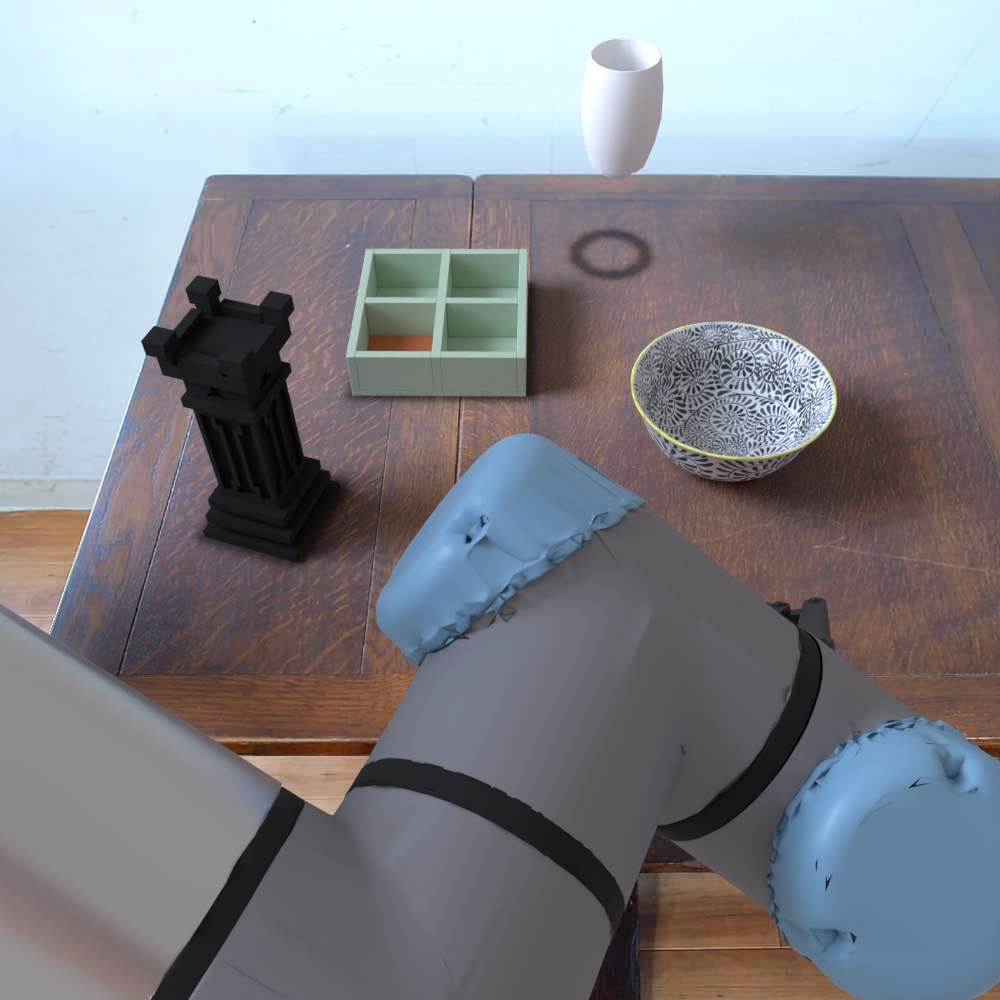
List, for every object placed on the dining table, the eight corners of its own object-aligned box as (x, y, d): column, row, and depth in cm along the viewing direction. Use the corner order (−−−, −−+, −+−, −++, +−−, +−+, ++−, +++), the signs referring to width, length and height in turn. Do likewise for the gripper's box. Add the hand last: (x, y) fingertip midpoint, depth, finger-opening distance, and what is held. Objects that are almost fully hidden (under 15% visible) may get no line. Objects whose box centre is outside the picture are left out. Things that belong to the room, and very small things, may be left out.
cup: (615, 225, 108) (630, 27, 92) (661, 259, 104) (685, 58, 88) (560, 250, 105) (566, 50, 89) (605, 286, 101) (620, 84, 85)
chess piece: (296, 562, 80) (242, 369, 64) (205, 537, 81) (132, 343, 66) (340, 488, 85) (299, 292, 69) (253, 466, 86) (194, 270, 71)
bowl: (667, 363, 94) (677, 297, 88) (840, 421, 89) (862, 354, 83) (593, 480, 85) (597, 415, 79) (780, 551, 79) (800, 487, 74)
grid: (352, 395, 92) (345, 356, 88) (371, 287, 102) (365, 248, 98) (526, 396, 91) (526, 357, 88) (527, 287, 101) (527, 248, 98)
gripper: (443, 877, 40) (418, 724, 61) (1032, 757, 43) (816, 650, 64) (413, 691, 40) (398, 601, 61) (1012, 581, 43) (800, 532, 64)
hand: (612, 626), depth 63 cm, fingers open, 13 cm apart
